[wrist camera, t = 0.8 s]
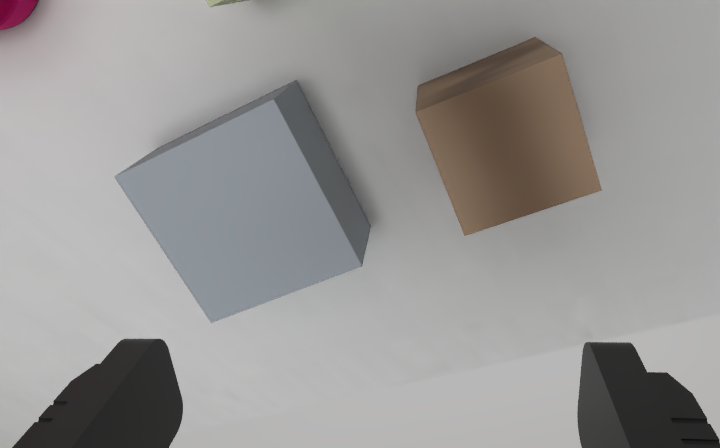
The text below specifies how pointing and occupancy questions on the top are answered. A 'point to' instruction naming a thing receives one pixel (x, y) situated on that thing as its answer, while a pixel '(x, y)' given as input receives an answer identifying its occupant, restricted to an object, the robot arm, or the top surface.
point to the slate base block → (250, 205)
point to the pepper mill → (14, 12)
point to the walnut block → (507, 136)
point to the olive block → (222, 2)
